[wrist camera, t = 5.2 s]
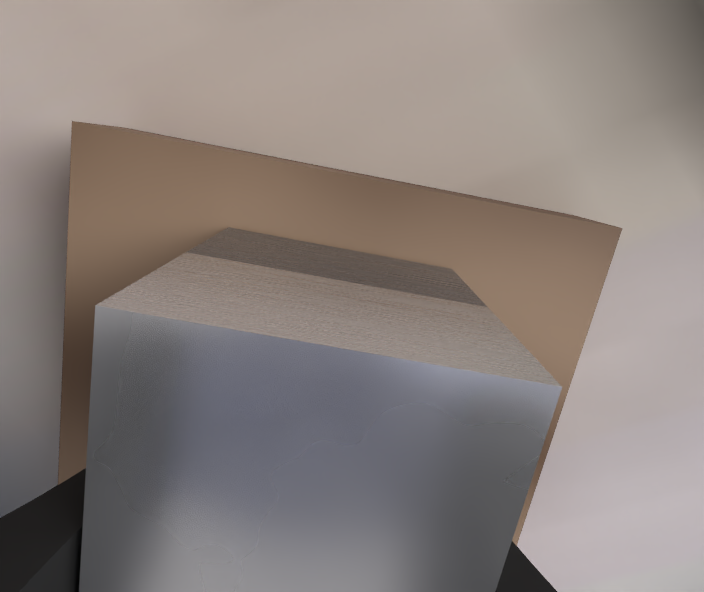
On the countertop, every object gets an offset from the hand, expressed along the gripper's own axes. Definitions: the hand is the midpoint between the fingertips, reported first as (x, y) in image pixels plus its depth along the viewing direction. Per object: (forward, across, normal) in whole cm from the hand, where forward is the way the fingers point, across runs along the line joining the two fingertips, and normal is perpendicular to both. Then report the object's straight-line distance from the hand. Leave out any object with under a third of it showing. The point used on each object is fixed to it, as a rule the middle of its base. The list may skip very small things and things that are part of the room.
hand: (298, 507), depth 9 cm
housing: (+3, 0, 0) cm, 3 cm away
